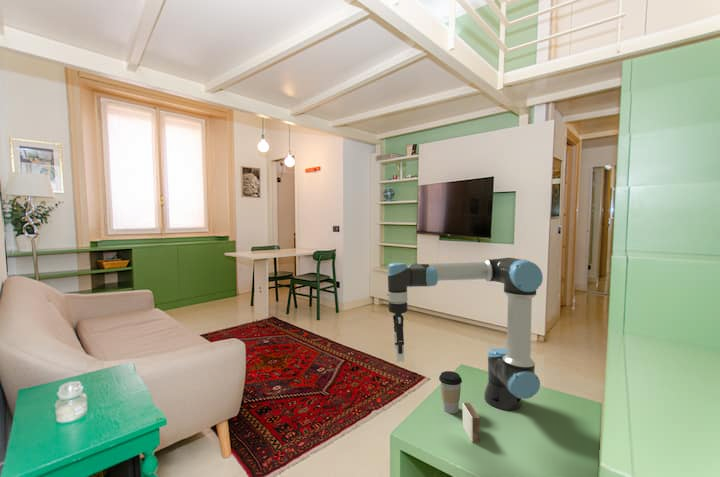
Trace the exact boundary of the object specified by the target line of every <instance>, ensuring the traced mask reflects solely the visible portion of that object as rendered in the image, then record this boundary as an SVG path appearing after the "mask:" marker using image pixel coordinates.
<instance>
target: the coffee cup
mask: <svg viewBox="0 0 720 477" xmlns="http://www.w3.org/2000/svg"><path fill="white" fill-rule="evenodd" d="M438 381H440V391H441V392H440V393H441V399H442V405H443V410H444V411H445V412H446V413H447V414H451V415H452V414H453V415H454V414H456V413H458V412H459V406H460V398H461V388H462V387H461V384H463V383H462V382H463V379H462V377H461V375H460V374H459V373H457V372H455V371H452V370H451V371H450V370H446V371H442V372H441V373H440V375H439V377H438Z"/></svg>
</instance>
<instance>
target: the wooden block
mask: <svg viewBox="0 0 720 477" xmlns="http://www.w3.org/2000/svg"><path fill="white" fill-rule="evenodd" d="M461 408H462V427H463V429H464V431H465V432H466V434H467V436H468V438H469V439H470V441H471V443H480V442H481V418H480V416H479V415H478V413H477V411H476V409H475V408H474V406H473V405H472V404H471V402H462V407H461Z"/></svg>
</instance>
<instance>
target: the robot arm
mask: <svg viewBox="0 0 720 477" xmlns="http://www.w3.org/2000/svg"><path fill="white" fill-rule="evenodd" d="M463 280H465V281H469V280H470V281H471V280H472V281H473V280H485V281H486V282H496V283H497V282H498V283H501V284H503V292H504V294H505V295H506V296H507V321H506V324H507V327H506V328H507V329H506V330H507V331H506V335H507V336H506V348H505V347H496V348H495V347H494V348H491V349H489V350H488V354H487V365H488V366H487V369H488V370H487V376H488V381H487V384H486V387H485V389H484V400H485V402H486V403H487V404H488V405H491V406H492V407H494V408H496V409H500V410H504V411H514V410H518V409H520V408H521V407H522V400H526V399H531V398H533V397H534V396H535V395H537V394H538V392H539V391H540V388H541V380H540V379H539V376H538V375H537V374H536V373H535V371H536V370H535V365H536V363H535V361H534V360H533V359H532V358H531V353H532V352H531V350H532V349H531V347H532V345H531V344H532V343H531V342H532V307H533V305H532V301H533V300H532V299H533V298H534V297H535V296H536V295H537V290H538V289H539V287H541V286H542V283H543V281H544V280H543V272H542V269H541V268H540V267H539V266H538V265H537V264H536V263H535V262H533V261H530V260H527V259H521V258H515V257H514V258H513V257H503V258H492V259H485V260H483V261H478V262H477V261H476V262H475V261H474V262H446V263H445V262H444V263H442V262H441V263H417V262H416V263H411V264H409V265H408V266H407V263H405V262H392V263H389V264H388V266H387V290H388V293H386V296H387V297H388V301H389V302H388V312H389V313H391V314H393V315H392V318H393V334H394V336H393V337H394V338H393V340H394V349H396V362H400V363H401V362H405V350H404V349H405V346H404V345H405V339H404V315H402V314H403V313H404V314H405V313H408V311H409V310H408V288H411V287H412V288H413V287H418V288H419V287H428V288H429V287H435V286H437V284H438V281H463Z"/></svg>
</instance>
